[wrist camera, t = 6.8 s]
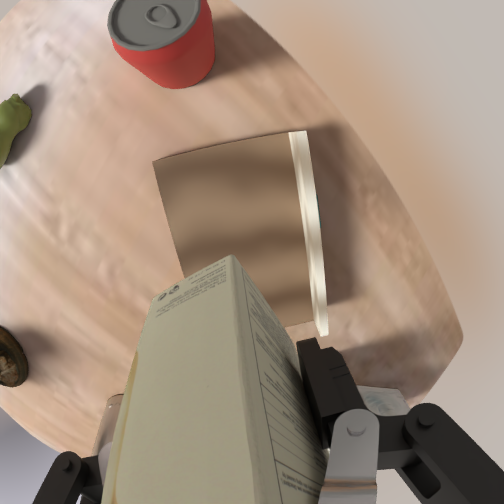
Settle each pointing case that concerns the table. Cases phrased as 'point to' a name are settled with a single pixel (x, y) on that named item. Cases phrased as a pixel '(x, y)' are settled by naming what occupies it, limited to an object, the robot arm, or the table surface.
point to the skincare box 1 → (215, 403)
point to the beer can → (164, 39)
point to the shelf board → (252, 218)
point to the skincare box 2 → (384, 401)
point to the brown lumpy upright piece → (11, 361)
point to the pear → (11, 123)
